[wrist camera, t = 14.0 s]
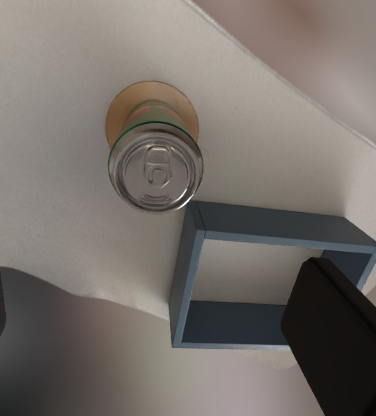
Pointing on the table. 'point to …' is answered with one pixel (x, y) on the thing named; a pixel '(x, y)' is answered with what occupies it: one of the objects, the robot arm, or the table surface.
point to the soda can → (155, 160)
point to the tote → (263, 234)
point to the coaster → (142, 94)
